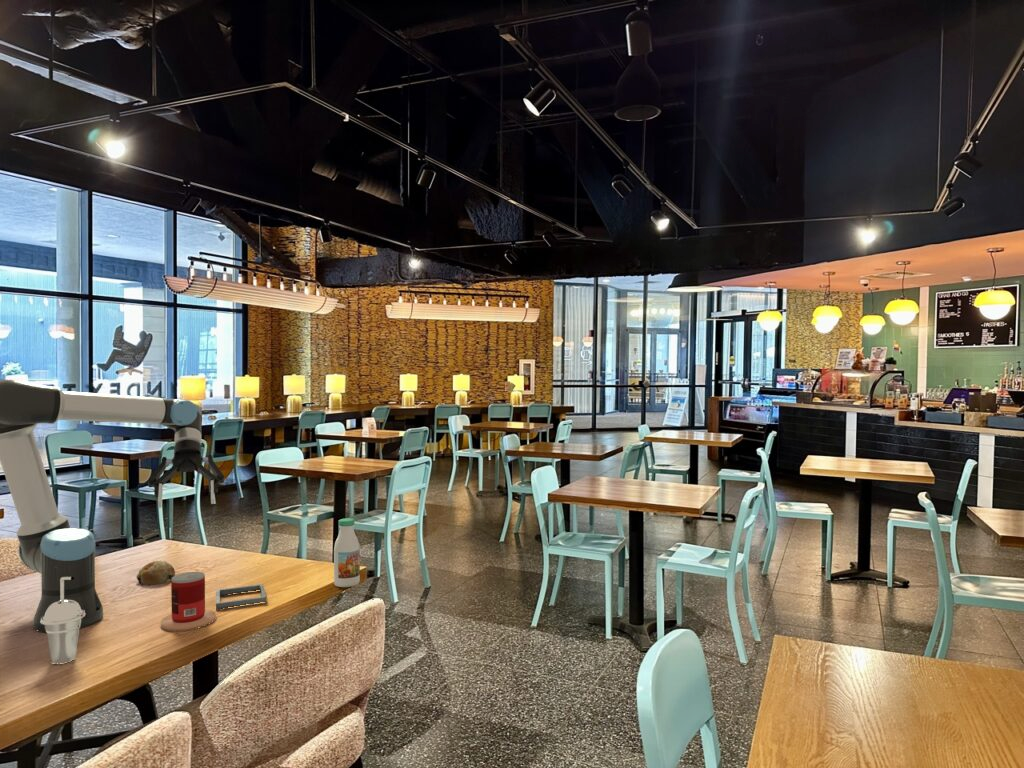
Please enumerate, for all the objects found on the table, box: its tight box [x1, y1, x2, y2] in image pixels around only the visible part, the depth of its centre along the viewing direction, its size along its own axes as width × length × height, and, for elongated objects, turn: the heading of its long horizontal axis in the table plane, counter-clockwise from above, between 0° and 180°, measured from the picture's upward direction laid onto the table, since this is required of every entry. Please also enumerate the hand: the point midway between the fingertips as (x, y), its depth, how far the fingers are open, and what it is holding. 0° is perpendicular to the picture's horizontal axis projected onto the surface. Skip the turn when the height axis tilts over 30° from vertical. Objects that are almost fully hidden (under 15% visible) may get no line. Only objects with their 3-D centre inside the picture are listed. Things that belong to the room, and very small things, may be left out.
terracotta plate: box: [160, 608, 217, 632], centre depth 173 cm, size 13×13×1 cm
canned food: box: [170, 571, 206, 623], centre depth 173 cm, size 8×8×11 cm
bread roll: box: [136, 560, 176, 586], centre depth 208 cm, size 10×10×8 cm
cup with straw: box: [40, 577, 86, 664], centre depth 149 cm, size 8×9×20 cm
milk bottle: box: [333, 517, 361, 588], centre depth 204 cm, size 8×8×20 cm
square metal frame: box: [215, 583, 267, 611], centre depth 190 cm, size 13×13×2 cm
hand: (186, 503), depth 190 cm, fingers open, 13 cm apart
